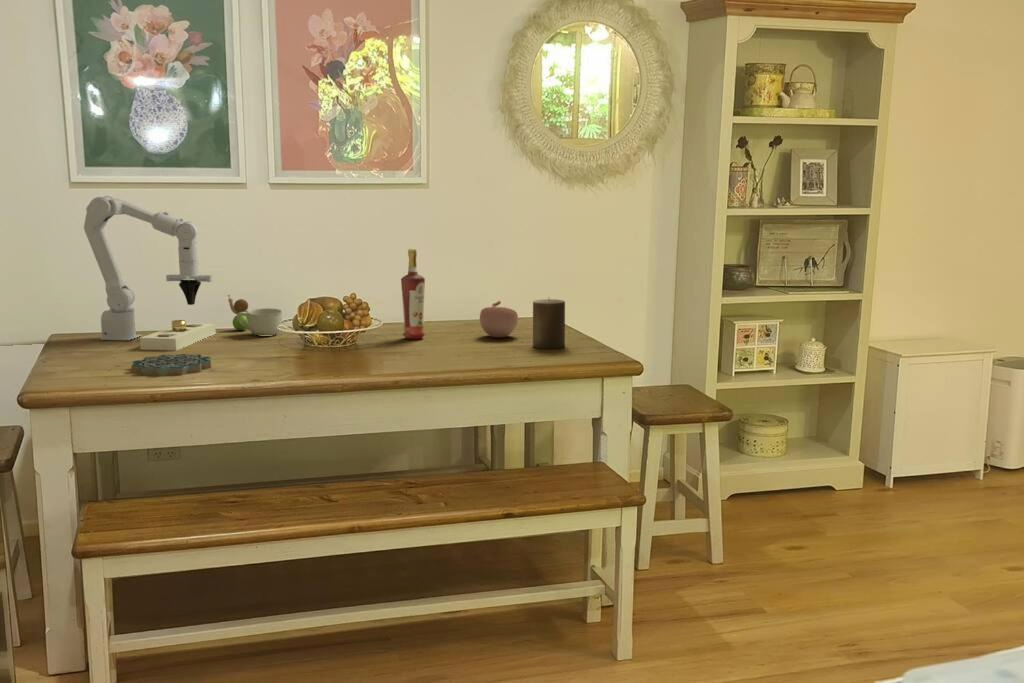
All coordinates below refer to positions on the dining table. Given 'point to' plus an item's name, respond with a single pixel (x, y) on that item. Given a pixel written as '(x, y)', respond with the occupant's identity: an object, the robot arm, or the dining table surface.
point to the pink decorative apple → (498, 320)
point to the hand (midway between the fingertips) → (191, 304)
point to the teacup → (262, 321)
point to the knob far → (192, 325)
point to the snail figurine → (237, 308)
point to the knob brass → (178, 325)
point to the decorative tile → (171, 365)
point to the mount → (177, 337)
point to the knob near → (165, 335)
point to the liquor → (413, 299)
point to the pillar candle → (549, 323)
